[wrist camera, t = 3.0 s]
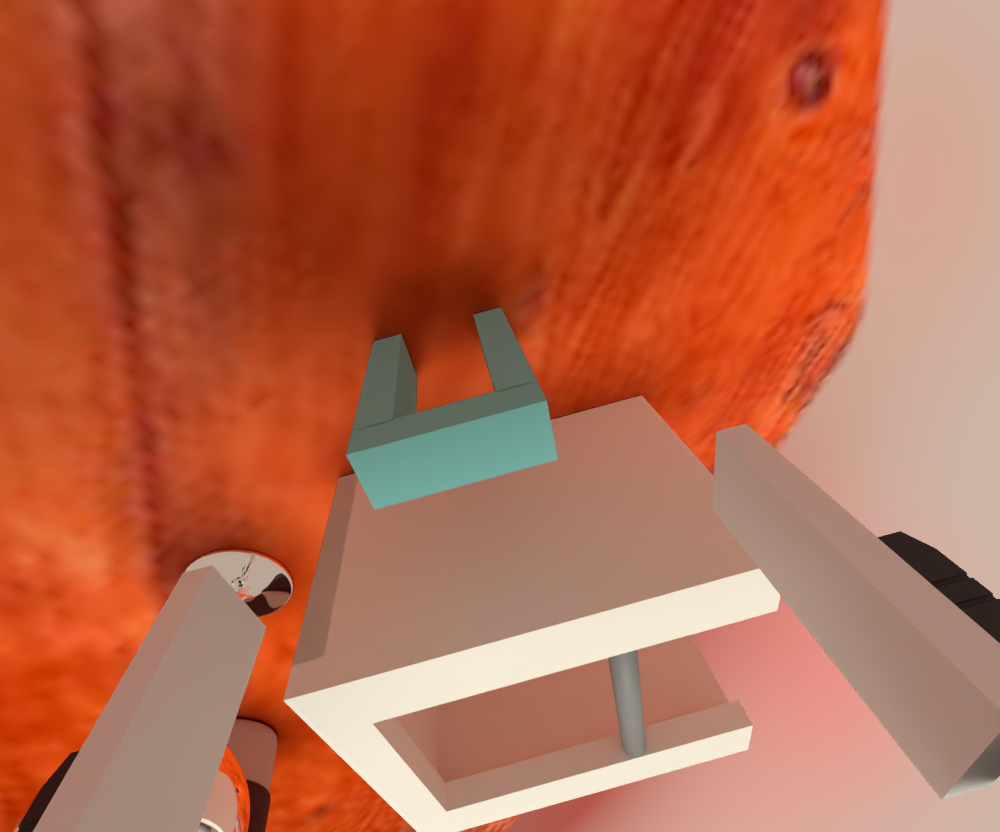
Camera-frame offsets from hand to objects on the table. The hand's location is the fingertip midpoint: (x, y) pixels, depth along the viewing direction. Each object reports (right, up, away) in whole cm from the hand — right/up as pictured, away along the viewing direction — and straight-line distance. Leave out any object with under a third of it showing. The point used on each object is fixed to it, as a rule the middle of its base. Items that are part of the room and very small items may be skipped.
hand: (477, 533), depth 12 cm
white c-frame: (+2, -5, +18) cm, 19 cm away
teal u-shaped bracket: (-2, +7, +10) cm, 13 cm away
